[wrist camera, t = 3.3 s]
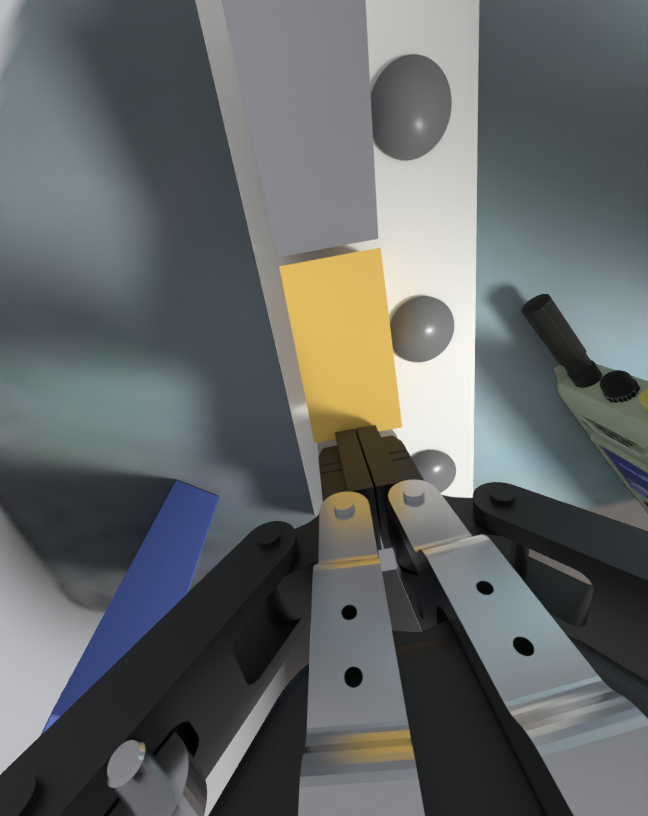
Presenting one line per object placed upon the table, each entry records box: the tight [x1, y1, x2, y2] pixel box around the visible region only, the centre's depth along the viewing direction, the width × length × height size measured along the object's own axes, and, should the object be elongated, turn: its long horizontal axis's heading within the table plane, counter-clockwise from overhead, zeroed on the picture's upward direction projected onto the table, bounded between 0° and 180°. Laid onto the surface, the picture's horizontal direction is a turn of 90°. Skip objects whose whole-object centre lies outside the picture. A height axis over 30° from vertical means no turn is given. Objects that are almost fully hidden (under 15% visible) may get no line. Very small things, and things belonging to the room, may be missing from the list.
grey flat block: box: [221, 0, 378, 257], centre depth 10 cm, size 3×6×2 cm, turn 10°
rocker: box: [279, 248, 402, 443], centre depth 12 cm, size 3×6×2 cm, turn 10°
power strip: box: [195, 0, 479, 518], centre depth 16 cm, size 8×24×4 cm, turn 10°
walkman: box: [41, 480, 219, 735], centre depth 17 cm, size 8×3×12 cm, turn 150°
